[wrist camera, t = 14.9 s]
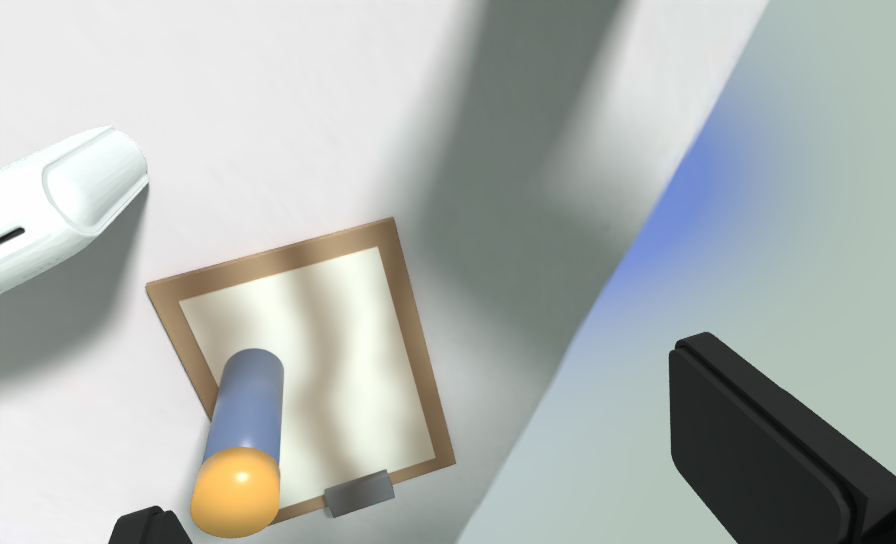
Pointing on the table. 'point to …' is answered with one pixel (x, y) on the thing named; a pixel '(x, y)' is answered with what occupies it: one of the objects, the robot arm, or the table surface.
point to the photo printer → (64, 199)
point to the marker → (242, 449)
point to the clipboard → (322, 361)
